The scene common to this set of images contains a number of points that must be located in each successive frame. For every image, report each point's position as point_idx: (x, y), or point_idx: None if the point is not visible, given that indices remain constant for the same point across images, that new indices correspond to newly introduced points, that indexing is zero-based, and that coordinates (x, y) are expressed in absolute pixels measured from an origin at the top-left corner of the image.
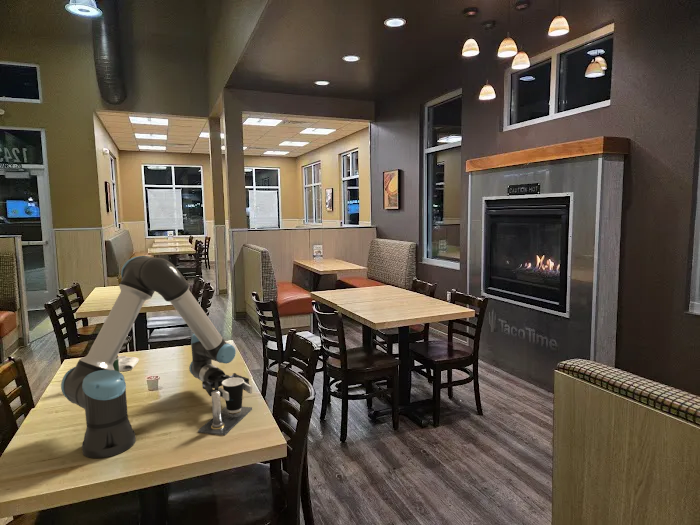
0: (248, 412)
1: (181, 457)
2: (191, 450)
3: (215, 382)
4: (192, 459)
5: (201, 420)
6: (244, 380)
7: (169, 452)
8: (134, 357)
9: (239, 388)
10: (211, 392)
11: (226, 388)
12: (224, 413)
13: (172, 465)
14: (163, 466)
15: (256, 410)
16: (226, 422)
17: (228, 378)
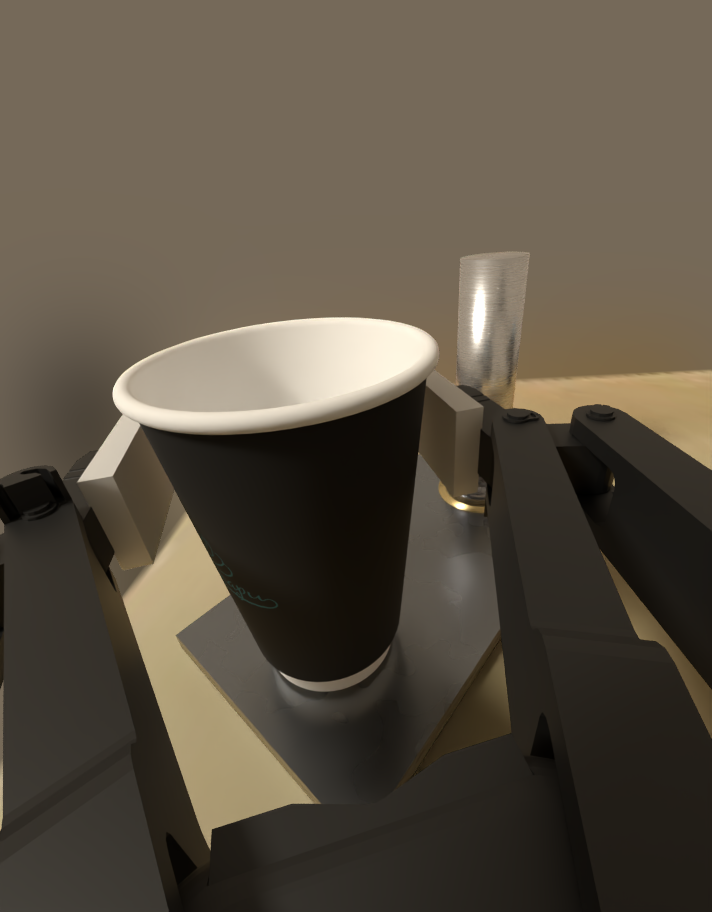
0: None
1: (597, 395)
2: (572, 411)
3: (613, 633)
4: (550, 386)
5: (634, 630)
6: (44, 488)
7: (670, 416)
8: None
9: (262, 381)
10: (529, 253)
11: (389, 366)
12: (426, 621)
13: (611, 379)
14: (643, 379)
15: (169, 618)
16: (423, 505)
17: (147, 790)
